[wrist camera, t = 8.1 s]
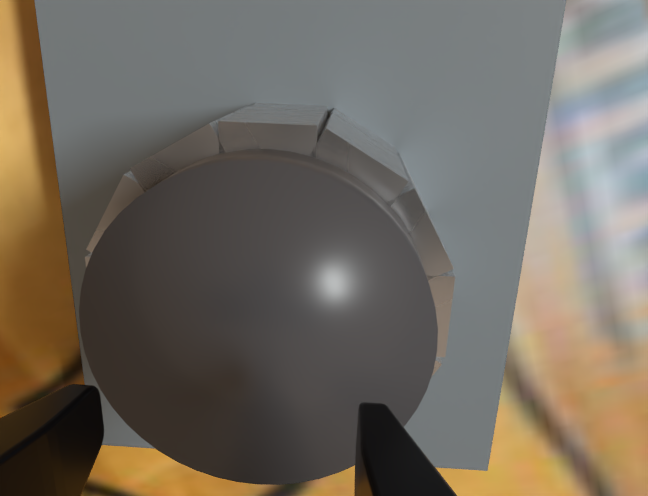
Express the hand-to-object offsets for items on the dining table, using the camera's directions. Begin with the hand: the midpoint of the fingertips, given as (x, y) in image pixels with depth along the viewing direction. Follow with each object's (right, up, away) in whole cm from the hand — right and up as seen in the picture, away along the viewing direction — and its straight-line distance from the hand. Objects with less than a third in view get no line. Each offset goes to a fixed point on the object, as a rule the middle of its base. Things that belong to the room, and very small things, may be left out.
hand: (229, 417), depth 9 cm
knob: (0, +2, +7) cm, 8 cm away
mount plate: (+1, +3, +9) cm, 10 cm away
